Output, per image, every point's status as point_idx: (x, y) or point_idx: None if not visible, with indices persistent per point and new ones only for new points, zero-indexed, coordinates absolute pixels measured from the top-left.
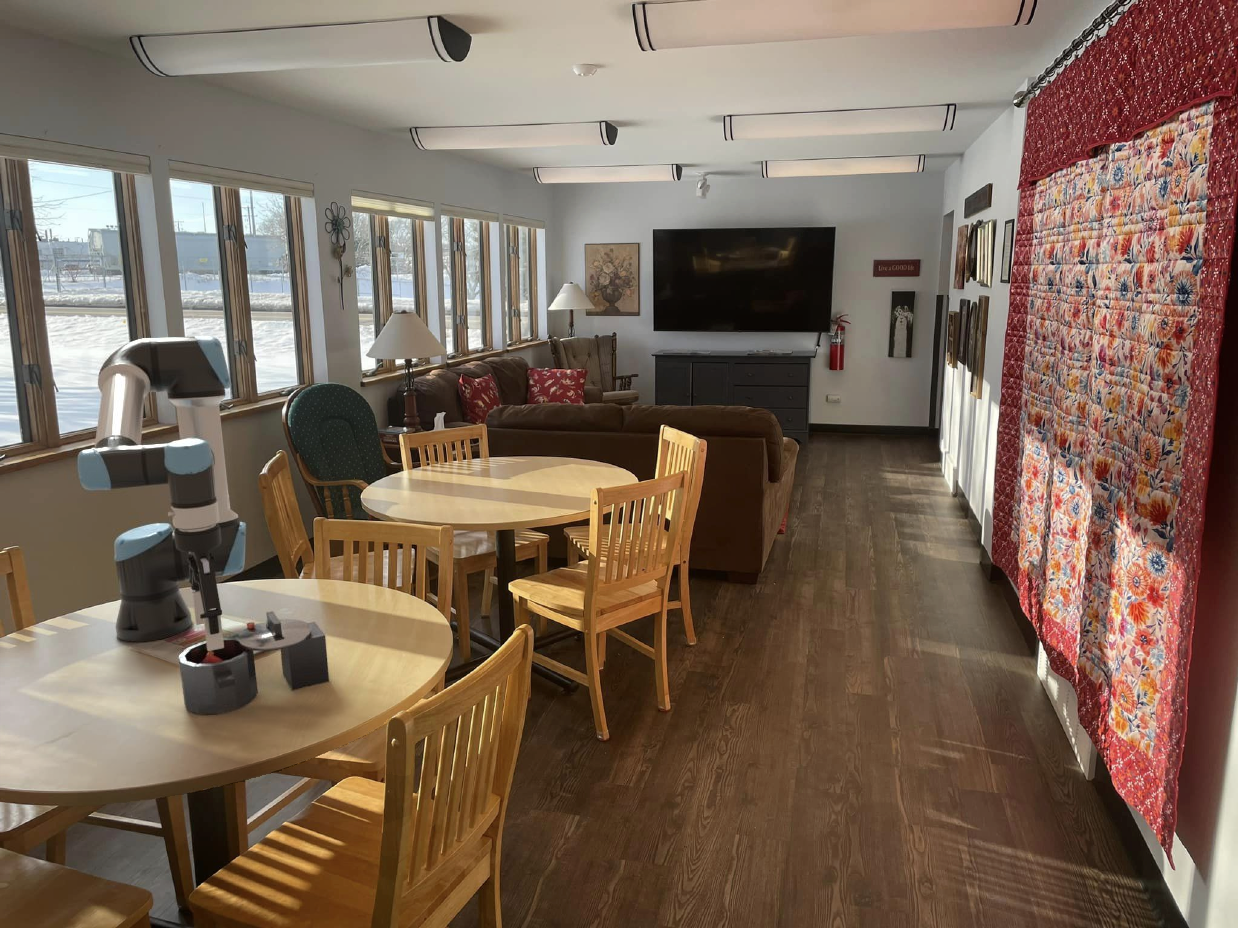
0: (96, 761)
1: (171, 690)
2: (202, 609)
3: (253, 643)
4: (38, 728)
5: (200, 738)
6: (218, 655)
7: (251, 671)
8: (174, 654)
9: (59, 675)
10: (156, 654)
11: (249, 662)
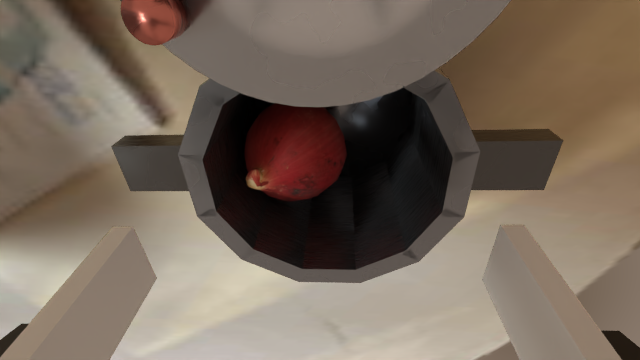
0: (456, 307)
1: None
2: (99, 323)
3: (422, 40)
4: (286, 347)
5: None
6: (227, 139)
7: None
8: (11, 173)
9: None
10: (9, 204)
11: None
